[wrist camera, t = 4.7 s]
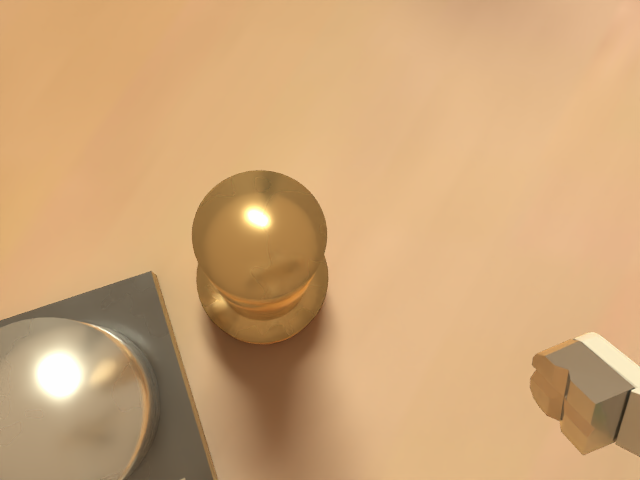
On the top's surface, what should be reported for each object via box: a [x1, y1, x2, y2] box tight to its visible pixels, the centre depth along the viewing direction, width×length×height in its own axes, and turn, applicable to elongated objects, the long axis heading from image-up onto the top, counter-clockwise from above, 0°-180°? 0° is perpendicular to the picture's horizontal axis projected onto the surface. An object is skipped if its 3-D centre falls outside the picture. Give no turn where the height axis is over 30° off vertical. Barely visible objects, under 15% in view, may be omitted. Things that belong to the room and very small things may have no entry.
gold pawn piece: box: [192, 170, 328, 344], centre depth 18 cm, size 6×6×9 cm
